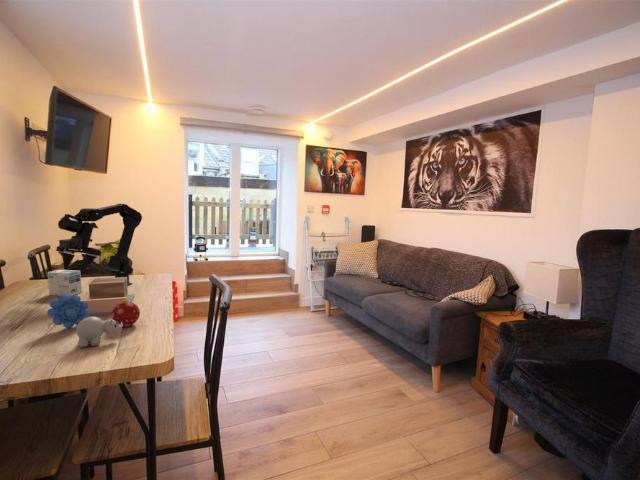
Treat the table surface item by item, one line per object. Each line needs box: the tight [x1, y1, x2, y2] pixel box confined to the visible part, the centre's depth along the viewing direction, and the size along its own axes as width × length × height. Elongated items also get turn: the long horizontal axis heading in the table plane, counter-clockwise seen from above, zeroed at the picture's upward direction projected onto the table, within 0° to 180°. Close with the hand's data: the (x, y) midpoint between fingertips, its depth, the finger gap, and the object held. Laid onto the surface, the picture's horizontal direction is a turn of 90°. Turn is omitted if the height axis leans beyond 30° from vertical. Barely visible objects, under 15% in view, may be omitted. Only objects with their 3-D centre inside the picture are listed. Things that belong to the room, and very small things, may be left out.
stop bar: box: [80, 297, 127, 313], centre depth 127 cm, size 2×16×5 cm, turn 113°
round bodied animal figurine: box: [75, 316, 123, 348], centre depth 102 cm, size 7×12×8 cm, turn 120°
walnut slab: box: [88, 277, 129, 300], centre depth 139 cm, size 10×12×7 cm
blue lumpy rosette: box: [46, 294, 90, 329], centre depth 112 cm, size 12×7×12 cm, turn 137°
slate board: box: [89, 294, 135, 317], centre depth 138 cm, size 25×16×1 cm, turn 23°
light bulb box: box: [47, 269, 83, 297], centre depth 152 cm, size 11×7×11 cm, turn 84°
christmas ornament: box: [111, 298, 141, 328], centre depth 116 cm, size 9×9×10 cm
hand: (73, 269), depth 145 cm, fingers open, 9 cm apart
